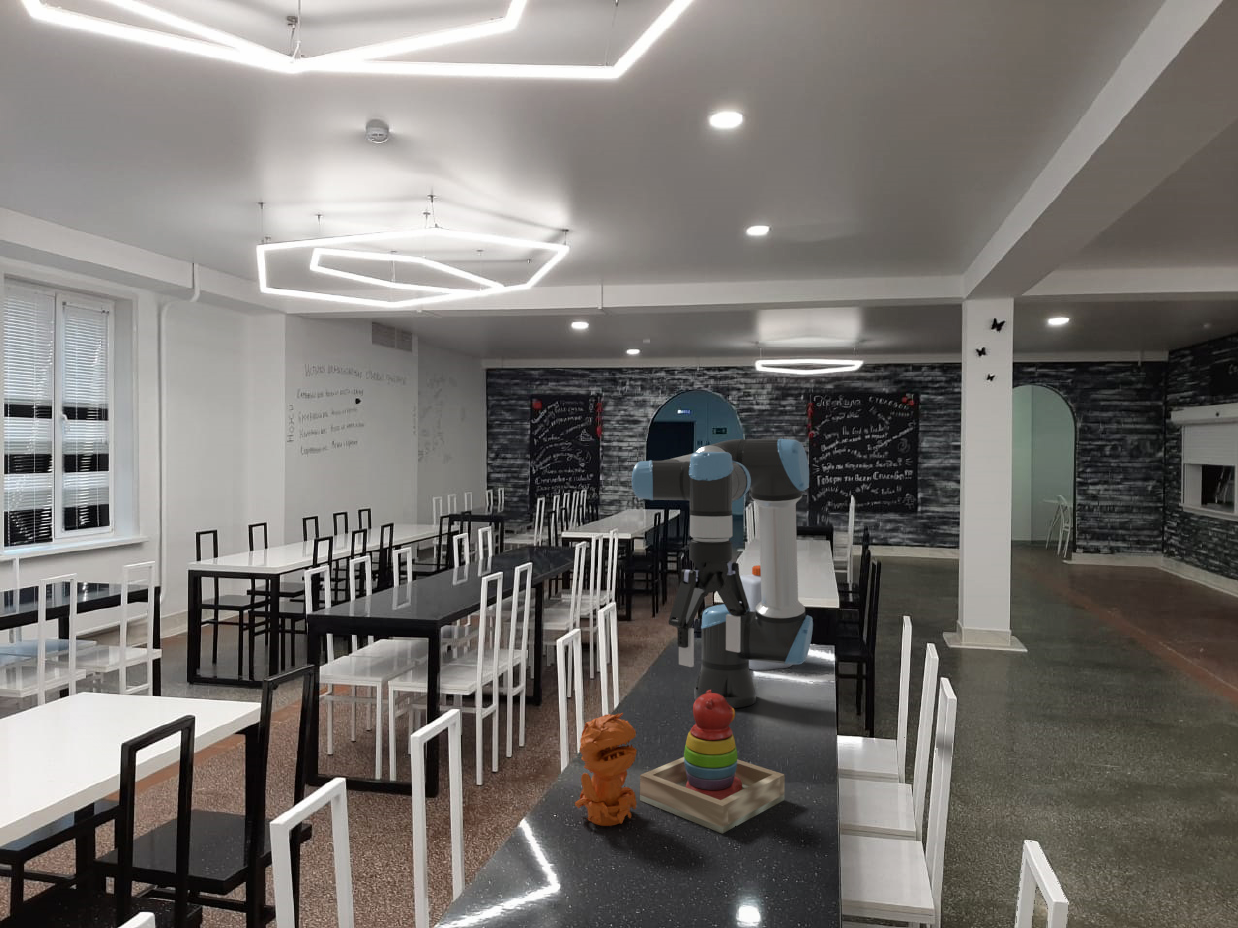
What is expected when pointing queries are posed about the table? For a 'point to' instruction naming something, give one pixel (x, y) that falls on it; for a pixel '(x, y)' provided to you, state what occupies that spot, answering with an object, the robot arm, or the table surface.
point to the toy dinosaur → (607, 769)
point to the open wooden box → (719, 815)
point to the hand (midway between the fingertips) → (710, 658)
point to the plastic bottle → (754, 598)
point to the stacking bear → (712, 748)
